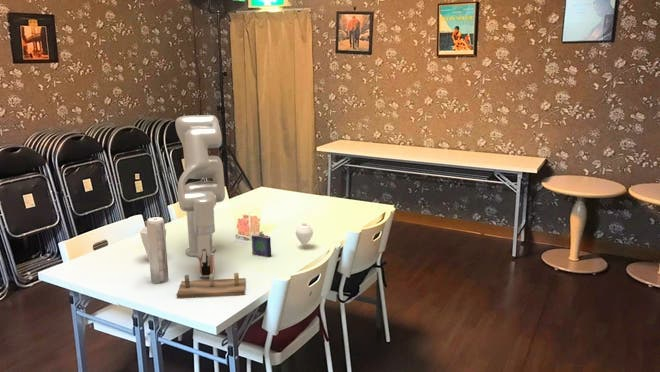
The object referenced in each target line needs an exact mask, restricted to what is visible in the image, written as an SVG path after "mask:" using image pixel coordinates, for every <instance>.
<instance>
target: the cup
mask: <svg viewBox="0 0 660 372" xmlns="http://www.w3.org/2000/svg"><path fill="white" fill-rule="evenodd" d="M139 233H140V234H139V235H140V238H141V241H142V244H143V247H144V250H145V253H146V256H147V260H148V262H150V261H149V249H148V237H147V226H145V227H142V228H141V229H140V230H139ZM165 236H166V237H167V227H166V226H165Z"/></svg>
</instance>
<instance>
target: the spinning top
mask: <svg viewBox="0 0 660 372" xmlns="http://www.w3.org/2000/svg"><path fill="white" fill-rule="evenodd" d="M313 234H314V231H313V228H311V226H310V225H308V224H307V221H302V222H301V225H298V227H297V228H296V230H295V236H296V238H297V240H298V242H300V243H301V245H302V246H303V248H304V249H305V248H306V246H307V245H308V244H309V242H310V240H311V239H312V237H313Z"/></svg>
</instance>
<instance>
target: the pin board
mask: <svg viewBox="0 0 660 372" xmlns="http://www.w3.org/2000/svg"><path fill="white" fill-rule="evenodd" d="M233 275H234V276H233V277H234V278H221V279H220V278H219V279H215V273H214V274H210V277H209V279H198V280H196V279H195V280H194V279H193V280H190V275H189V274H185V275H184V280H181V281H180V284H179V288H178V290H177V293H176V299H190V298H191V299H192V298H194V299H195V298H207V297H208V298H212V297H214V298H215V297H229V296H232V297H233V296H244V295H246V293H245V292H246V281H247V280H246V277H242V278H239V277H240V274H239V272H234V273H233Z"/></svg>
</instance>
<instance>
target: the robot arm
mask: <svg viewBox="0 0 660 372" xmlns="http://www.w3.org/2000/svg"><path fill="white" fill-rule="evenodd" d="M174 123H175V130H176V134H177V136H178V138H179V140H180V142H181V144H182V149H183V159H184V161H183V162H184V171H183V172H182V174H181V175H180V176H179V179H178V183H177V195H178V196H177V197H178V204H179V205H178V206H179V209H180V210H181V211H183V212H186V216H187V217H186V218H187V219H186V220H187V223H186V224H187V235H188V248H186V249H185V254H186V255H187V256H189V257H193V258H194V257H196V258H197V259H198V260H199V259H201V257H202V275H203V276H204V275H210V274H211V273H210V265H209V259H210V258H211V255H213V254H214V253H215V251H216V248H215V246H213V234H214V233H216V228H215V227H216V226H215V224H216V223H215V210H214V208H215V207H216V205H217V203H221V202H223V201H224V200H225V198H226V187H225V185H226V184H225V176H224V174H225V173H224V166H223V162H222V159H221V158H220V156H218V155H209V151H208V149H215V148H220V147H221V146H222V143H223V138H222V137H223V136H222V135H223V134H222V131H221V126H220V123H219V119H218V118H217V116H215V115H212V114H205V115H203V114H201V115H194V114H193V115H183V116H179V117H177V118H176V120H175V122H174ZM189 179H192V180H194V179H195V180H196V179H197V180H198V179H200V180H201V179H212V180H207V181H193V182H188V183H187V181H188V180H189ZM206 257H208V258H206ZM206 260H208V262H207V261H206Z"/></svg>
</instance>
